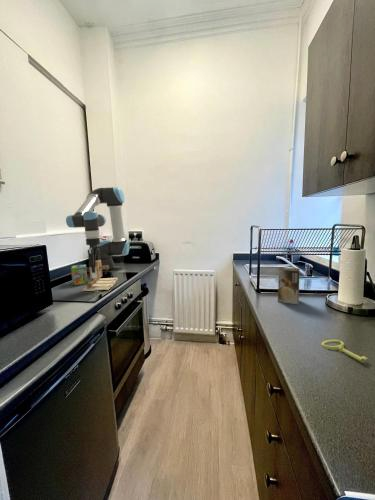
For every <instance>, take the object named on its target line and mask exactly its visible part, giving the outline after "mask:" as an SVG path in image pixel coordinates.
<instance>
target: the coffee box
mask: <svg viewBox="0 0 375 500" xmlns="http://www.w3.org/2000/svg"><path fill="white" fill-rule="evenodd" d="M300 271H301V270H300V268H299V267H286V266H279V268H278V278H277V279H278V281H277V282H278V283H277V287H278V289H277V302H278V303H287V304H291V305H299V303H300V275H301V274H300Z"/></svg>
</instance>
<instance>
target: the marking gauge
mask: <svg viewBox="0 0 375 500" xmlns="http://www.w3.org/2000/svg"><path fill="white" fill-rule="evenodd" d="M88 267H89V266H88ZM95 267H96V270H97V278H92V272H91V267H89V276H90V280H94V279H100V278H102V277H103V271H102V269H106V270H105V271H106V272H108V271H109V270H108V269H109V266H101V260H95Z"/></svg>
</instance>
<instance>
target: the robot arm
mask: <svg viewBox="0 0 375 500" xmlns="http://www.w3.org/2000/svg"><path fill="white" fill-rule="evenodd" d="M124 195H125V194H124V192H123V190H122V188H121V187H117V186H111V187H98V188H95V189H93V190H92V191H90V192H89V193H88V194H87V195H86V198H85V200H84V201H83V203H82V204H81V205H80V207H79V208H78V209H77V210H76V211H75V212H74V214H73V215H72V214H70V215H67V216H66V218H65V223H66V225H67V227H68V228H76V229H77V228H84V235H85V243H86V244H85V245H87V246H89V249H87V255H88V267H91V272H92V278H97V270H96V267H95V260H101V266H109V269H108V271H109V270H113V269H116V268H115V267H116V266H115V262H114V260H113V257H115V256H116V257H118V256H120V257H122V256H127V255H129V252H130V244H131V243H130V241H128V239H127V237H125V230H124V223H123V215H122V206H123V204H124V203H125V196H124ZM100 204H106V207H108V209H109V215H110V221H111V222H110V223H111V230H112V231H111V232H112V239H106V240H100V239H101V238H100V237H101V235H100V229H99V228H100V227H103V226H105V225H106V222H107V219H106V217H105V216H104V215H102V214H98V212H97V210H94V209H96V208H95V207H97V206H99V205H100ZM103 271H104V272H105V271H106V269H102V272H103Z"/></svg>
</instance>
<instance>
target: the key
mask: <svg viewBox="0 0 375 500" xmlns="http://www.w3.org/2000/svg"><path fill="white" fill-rule="evenodd" d="M329 343H337V345H327V344H329ZM320 345H321V347H322V346H323V347H322V348H323V349H326V350H328V349H330V350H331V351H338V352H339V353H343V354H345V355H347V356H349V357H351V358H352V359H355V360H357V361H359V362H360V363H364V361H366V360H367V361H368V359H369V358H368V357H366V356H365V355H363V356H359V355H358V354H356V353H354V352H352V351H350V350H347V349H346V348H345V342H343V341H342V340H340V339H327V340H324V341H322V342H321V344H320Z"/></svg>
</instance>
